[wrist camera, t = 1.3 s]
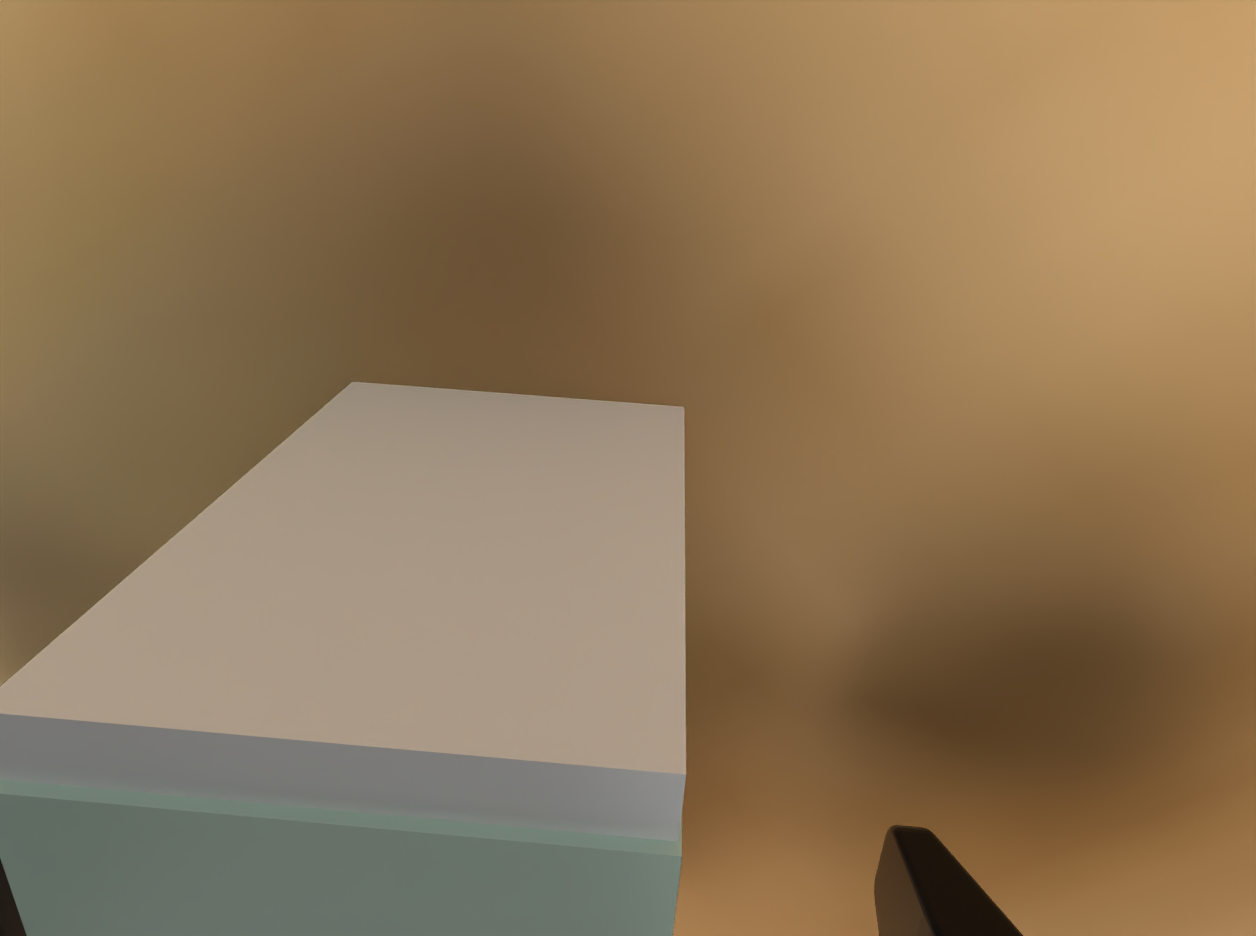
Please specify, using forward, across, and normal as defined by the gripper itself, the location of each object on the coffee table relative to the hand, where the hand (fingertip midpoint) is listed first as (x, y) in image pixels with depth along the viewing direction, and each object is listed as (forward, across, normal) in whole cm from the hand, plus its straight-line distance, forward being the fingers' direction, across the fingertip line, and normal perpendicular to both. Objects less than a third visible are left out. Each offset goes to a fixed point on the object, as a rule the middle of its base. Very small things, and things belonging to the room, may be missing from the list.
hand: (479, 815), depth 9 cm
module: (+3, 0, 0) cm, 3 cm away
